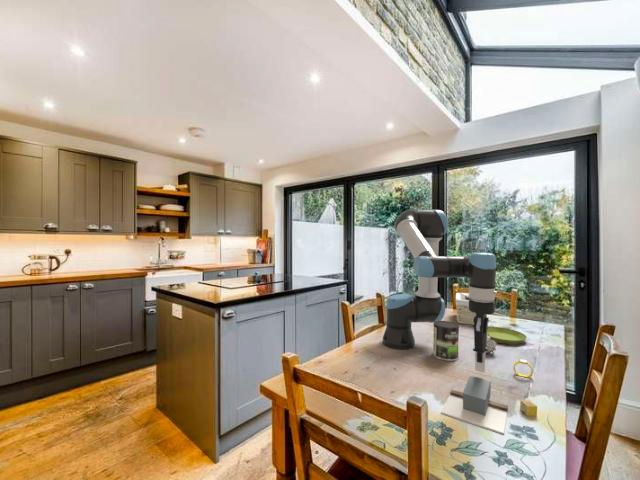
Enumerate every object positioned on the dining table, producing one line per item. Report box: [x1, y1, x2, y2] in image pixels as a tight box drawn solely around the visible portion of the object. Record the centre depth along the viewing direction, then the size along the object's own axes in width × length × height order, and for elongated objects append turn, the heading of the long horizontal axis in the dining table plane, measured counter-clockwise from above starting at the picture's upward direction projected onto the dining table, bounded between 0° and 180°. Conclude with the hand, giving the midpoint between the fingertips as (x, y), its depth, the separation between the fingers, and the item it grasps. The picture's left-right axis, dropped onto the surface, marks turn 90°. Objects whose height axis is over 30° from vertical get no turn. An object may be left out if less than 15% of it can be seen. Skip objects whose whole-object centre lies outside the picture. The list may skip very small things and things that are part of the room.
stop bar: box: [449, 389, 509, 413], centre depth 95 cm, size 16×2×1 cm, turn 54°
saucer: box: [487, 326, 528, 345], centre depth 154 cm, size 21×21×3 cm
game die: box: [485, 334, 499, 355], centre depth 135 cm, size 9×8×10 cm
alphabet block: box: [519, 399, 538, 417], centre depth 90 cm, size 3×3×3 cm
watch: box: [512, 359, 534, 378], centre depth 113 cm, size 6×3×6 cm, turn 59°
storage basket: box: [455, 292, 476, 326], centre depth 187 cm, size 24×16×15 cm
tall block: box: [462, 374, 492, 416], centre depth 93 cm, size 6×5×11 cm
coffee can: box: [432, 320, 460, 362], centre depth 131 cm, size 10×10×14 cm
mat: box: [440, 394, 508, 435], centre depth 89 cm, size 16×12×1 cm
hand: (479, 370), depth 99 cm, fingers closed
